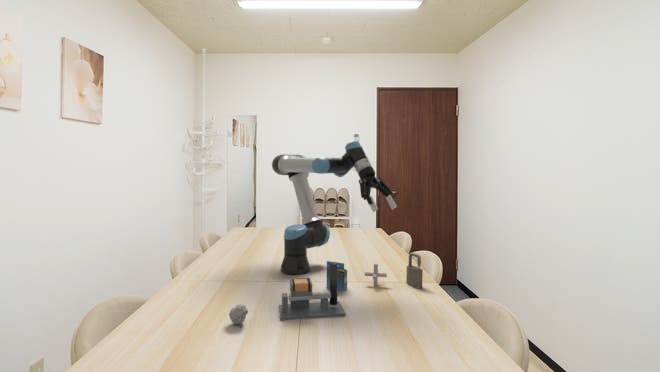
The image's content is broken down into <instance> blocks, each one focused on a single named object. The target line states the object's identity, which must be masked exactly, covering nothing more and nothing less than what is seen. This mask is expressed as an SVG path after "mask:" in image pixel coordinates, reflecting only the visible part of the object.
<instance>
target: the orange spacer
mask: <svg viewBox="0 0 660 372" xmlns="http://www.w3.org/2000/svg"><path fill="white" fill-rule="evenodd" d="M294 292H308V280H307V279H294Z"/></svg>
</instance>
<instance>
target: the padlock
mask: <svg viewBox="0 0 660 372" xmlns="http://www.w3.org/2000/svg"><path fill="white" fill-rule="evenodd" d="M413 257H414V258H417V266H416V265H412V263H413ZM421 261H422V258H421V256H420V255H419V254H418V253H415V252H410V253H409V254H408V265H406V279H405V280H406V282H405V283H406V284H407V285H408V286H411V287H413V288H415V289H421V288H423V274H424V273H423V271H424V270H423V269H422V268H421V265H422V262H421Z"/></svg>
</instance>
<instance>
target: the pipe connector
mask: <svg viewBox="0 0 660 372" xmlns="http://www.w3.org/2000/svg"><path fill="white" fill-rule="evenodd" d="M378 264H379V263H373V272H371V271H365V272H364V277H372V280H373V286H374V287H377V286H378V283H379V282H378V281H379V280H378V279H379V278H387V277H388V275H387V273H385V272H379V268H378V267H379V265H378ZM378 277H379V278H378Z"/></svg>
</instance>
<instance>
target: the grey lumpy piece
mask: <svg viewBox="0 0 660 372" xmlns="http://www.w3.org/2000/svg"><path fill="white" fill-rule="evenodd" d="M248 314H249V310H248V308H246V304H237V305H236V306H235V307H232V308H230V310H229V314H228V316H229V319H230V321H231V323H233V324H234V325H236V326H238V325H242V324H243V323H244V322H245V320H246V318H247V317H246V316H247V315H248Z"/></svg>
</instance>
